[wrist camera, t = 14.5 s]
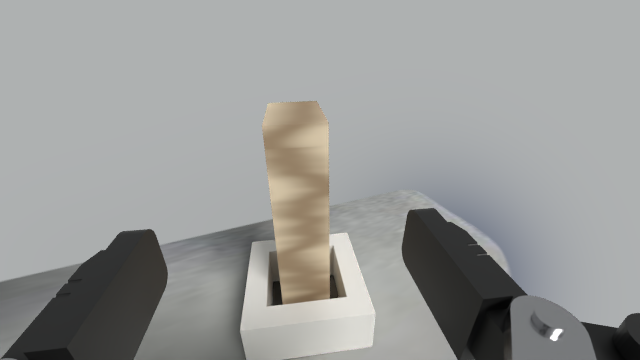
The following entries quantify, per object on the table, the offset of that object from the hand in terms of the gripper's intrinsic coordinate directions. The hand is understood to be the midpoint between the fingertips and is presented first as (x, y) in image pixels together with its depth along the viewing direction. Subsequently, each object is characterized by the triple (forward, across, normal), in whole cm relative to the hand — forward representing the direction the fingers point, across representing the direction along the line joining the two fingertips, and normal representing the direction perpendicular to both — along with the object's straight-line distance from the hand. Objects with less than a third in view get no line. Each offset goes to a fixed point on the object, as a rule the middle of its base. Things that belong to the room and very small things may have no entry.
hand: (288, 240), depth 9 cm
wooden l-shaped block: (+12, -1, +17) cm, 21 cm away
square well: (+11, -1, +17) cm, 20 cm away
